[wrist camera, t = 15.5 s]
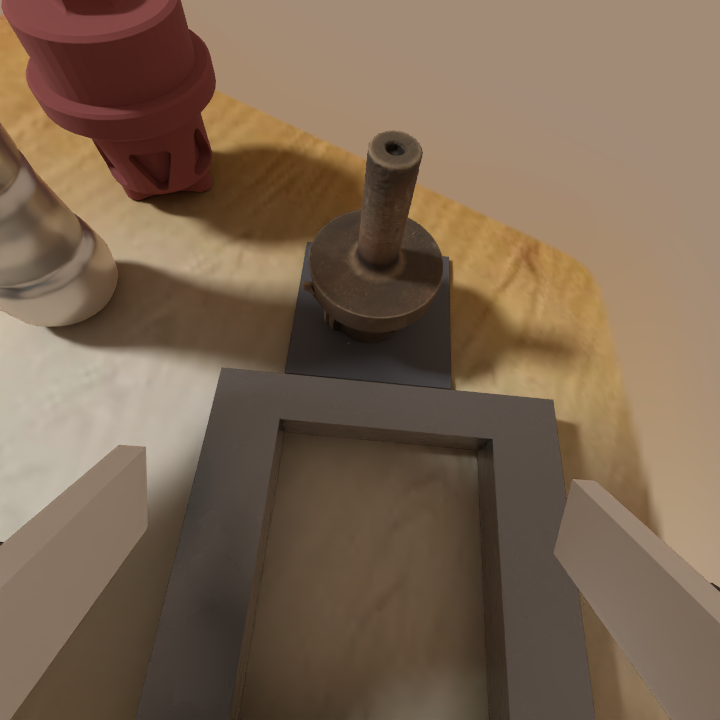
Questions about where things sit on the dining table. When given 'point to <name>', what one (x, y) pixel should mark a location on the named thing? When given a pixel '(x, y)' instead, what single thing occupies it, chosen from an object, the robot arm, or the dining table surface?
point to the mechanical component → (123, 85)
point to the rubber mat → (373, 345)
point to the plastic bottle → (47, 250)
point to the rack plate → (380, 423)
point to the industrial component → (377, 250)
